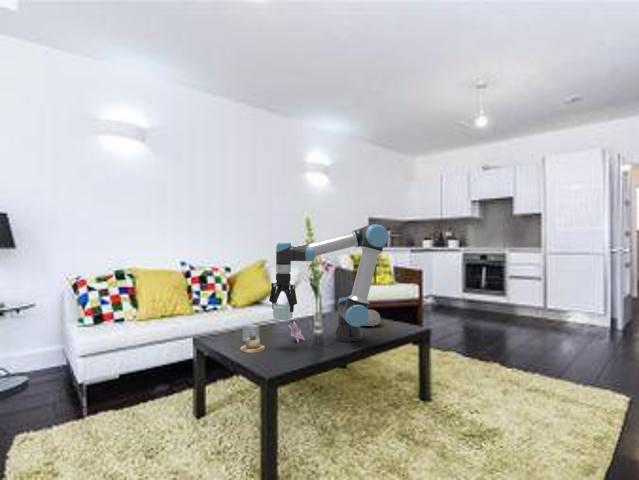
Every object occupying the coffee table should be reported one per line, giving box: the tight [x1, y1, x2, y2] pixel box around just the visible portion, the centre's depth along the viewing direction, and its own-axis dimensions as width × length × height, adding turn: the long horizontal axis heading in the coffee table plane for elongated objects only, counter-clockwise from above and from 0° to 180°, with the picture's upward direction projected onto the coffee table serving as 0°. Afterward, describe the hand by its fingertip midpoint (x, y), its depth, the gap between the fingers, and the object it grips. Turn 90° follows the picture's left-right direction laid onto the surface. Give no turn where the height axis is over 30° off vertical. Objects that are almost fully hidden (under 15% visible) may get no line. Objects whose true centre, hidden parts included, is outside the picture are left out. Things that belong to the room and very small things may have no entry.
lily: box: [287, 320, 306, 344], centre depth 202 cm, size 12×12×10 cm
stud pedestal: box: [240, 331, 266, 354], centre depth 186 cm, size 12×12×9 cm
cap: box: [273, 303, 289, 321], centre depth 187 cm, size 9×9×6 cm
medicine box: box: [242, 324, 260, 343], centre depth 200 cm, size 8×4×9 cm, turn 74°
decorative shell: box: [361, 308, 382, 327], centre depth 239 cm, size 18×18×10 cm
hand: (282, 317), depth 187 cm, fingers closed on cap, 9 cm apart
